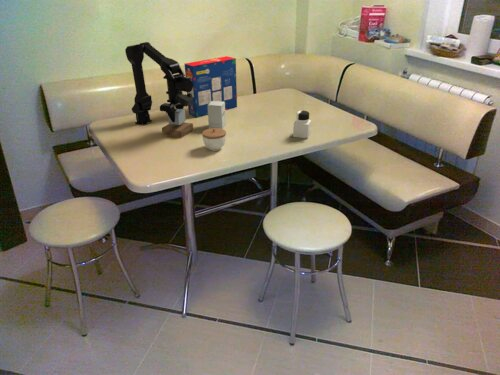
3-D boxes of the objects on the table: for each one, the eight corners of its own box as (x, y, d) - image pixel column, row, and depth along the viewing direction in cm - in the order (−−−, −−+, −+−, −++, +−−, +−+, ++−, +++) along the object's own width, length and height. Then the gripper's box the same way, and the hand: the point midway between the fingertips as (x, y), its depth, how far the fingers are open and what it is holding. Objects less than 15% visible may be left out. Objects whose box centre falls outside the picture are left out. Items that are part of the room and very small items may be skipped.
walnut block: (162, 135, 205) (161, 127, 203) (175, 128, 213) (174, 120, 211) (181, 138, 201) (180, 131, 199) (193, 131, 209) (192, 123, 207)
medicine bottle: (310, 133, 203) (312, 110, 197) (307, 138, 197) (308, 114, 192) (296, 132, 205) (297, 108, 200) (292, 137, 199) (293, 113, 194)
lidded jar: (229, 151, 186) (228, 131, 181) (205, 154, 183) (204, 134, 179) (223, 142, 195) (222, 123, 190) (201, 145, 192) (199, 126, 188)
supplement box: (222, 129, 209) (221, 105, 203) (208, 129, 210) (206, 105, 204) (226, 124, 215) (225, 101, 209) (212, 124, 217) (211, 100, 211)
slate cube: (168, 123, 203) (167, 111, 200) (175, 119, 207) (173, 107, 205) (179, 124, 201) (178, 113, 198) (185, 120, 205) (184, 109, 203)
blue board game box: (228, 104, 246) (227, 56, 233) (237, 107, 241) (235, 58, 227) (188, 114, 231) (184, 63, 217) (196, 117, 226) (192, 66, 212)
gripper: (178, 95, 186) (181, 128, 193) (198, 85, 201) (200, 116, 208) (157, 93, 189) (161, 125, 197) (178, 83, 205) (181, 113, 212)
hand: (176, 120), depth 204 cm, fingers closed on slate cube, 6 cm apart
